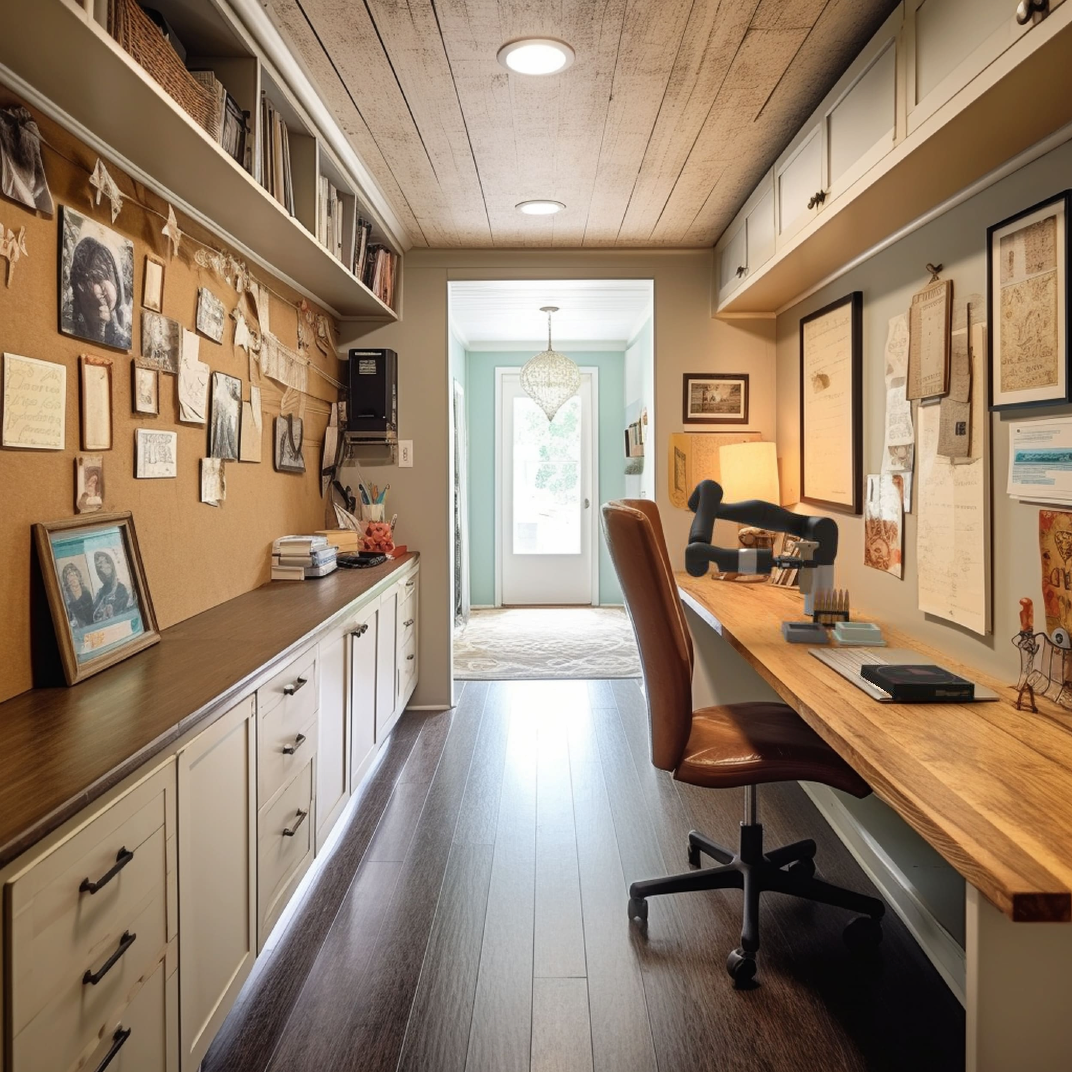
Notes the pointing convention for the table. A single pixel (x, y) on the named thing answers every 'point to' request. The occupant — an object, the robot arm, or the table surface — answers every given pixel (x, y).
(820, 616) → the ammunition clip
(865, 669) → the portable cd player
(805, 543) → the handle
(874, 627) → the grey shallow tray
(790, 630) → the socket block
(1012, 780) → the table surface
